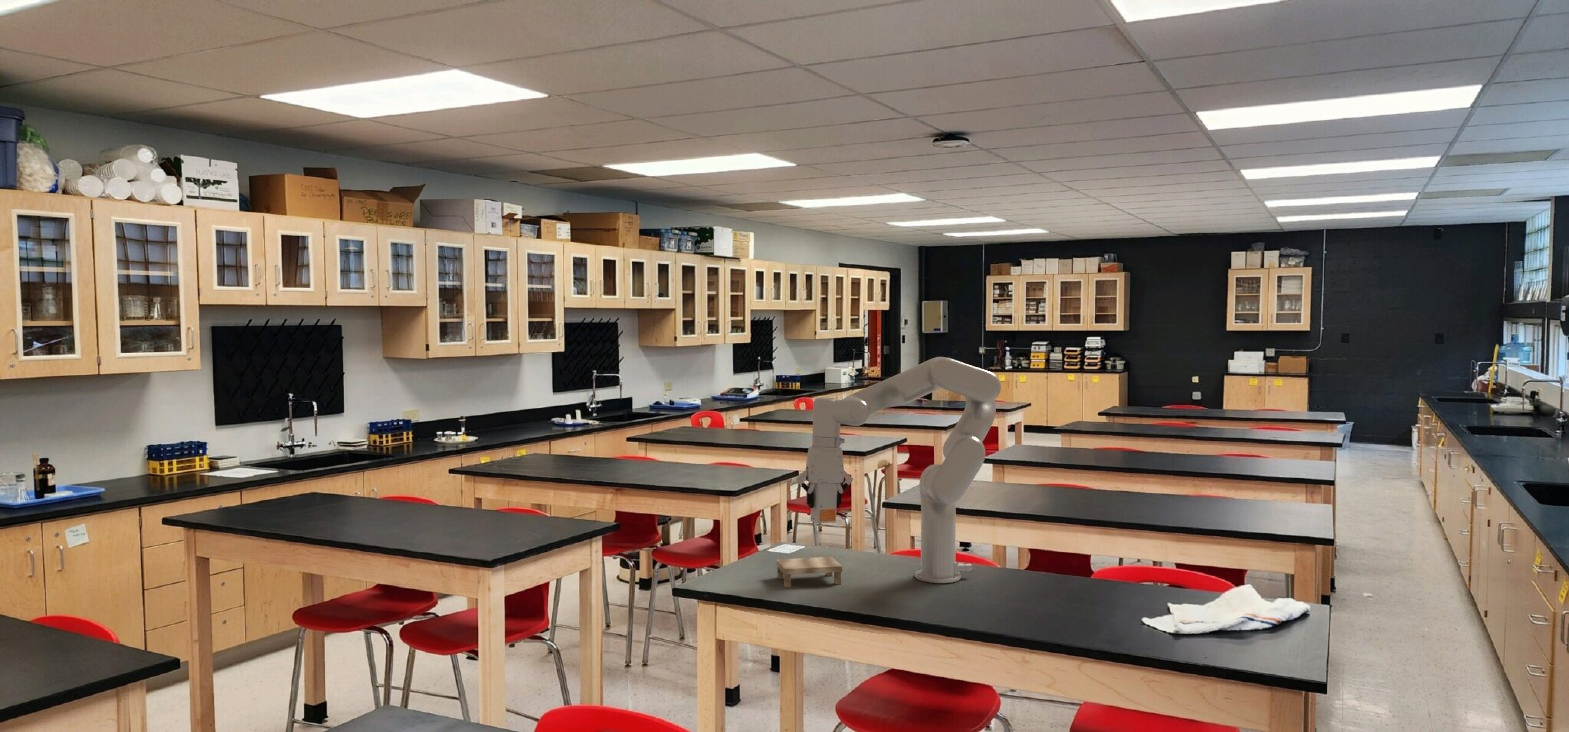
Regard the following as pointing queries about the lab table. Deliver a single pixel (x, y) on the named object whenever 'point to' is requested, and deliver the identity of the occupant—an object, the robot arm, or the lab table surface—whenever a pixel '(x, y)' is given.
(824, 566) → the birch stool
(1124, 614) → the lab table surface
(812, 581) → the lab table surface
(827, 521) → the skincare box
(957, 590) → the lab table surface
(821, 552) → the lab table surface
